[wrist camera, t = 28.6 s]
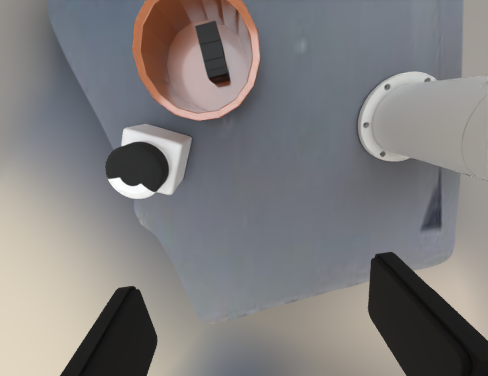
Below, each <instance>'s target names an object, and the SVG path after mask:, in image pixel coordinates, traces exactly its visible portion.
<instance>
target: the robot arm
mask: <svg viewBox="0 0 488 376" xmlns="http://www.w3.org/2000/svg"><path fill="white" fill-rule="evenodd" d="M384 87H385V89H384ZM363 124H364V126H363ZM358 135H359V138H360V141H361V143H362V145H363V147H364V148H365V149H366V150H367V151H368V152H369V153H370V154H371V155H373V156H374V157H376V158H379V159H381V160H385V161H393V162H396V161H403V160H406V159H410V158H414V159H417V160H420V161H423V162H427V163H430V164H433V165H436V166H440V167H443V168H446V169H449V170H453V171H456V172H459V173H462V174H466V175H469V176H472V177H476V178H479V179H482V180H486V181H488V75H481V76H473V77H465V78H456V79H447V80H439V81H437V80H436V79H435V78H434V77H432V76H430V75H428V74H426V73H421V72H406V73H400V74H397V75H394V76H392V77H390V78H388V79H386V80H384V81H383V82H382V83H380V84H379V85H378V86H377V87H375V89H374V90H373V91H372V92H371V93H370V94H369V96H368V97H367V99H366V100H365V102H364V104H363V106H362V108H361V110H360V114H359V118H358ZM368 311H369V315H370V318H371V320H372V321H373V323H374V324H375V326H376V328H377V329H378V331H379V332H380V334H381V336H382V337H383V338H384V340H385V342H386V344H387V345H388V347H389V348H390V350H391V352H392V353H393V355H394V356H395V358H396V360H397V361H398V363H399V364H400V366H401V368H402V369H403V371H404V372H405V374H406V376H488V341H487V340H486V339H485V338H484V337H483V336H482V335H481V334H480V333H479V332H478V331H477V330H476V329H475V328H474V327H473V326H472V325H470V324H469V323H468V322H467V321H466V320H465V319H464V318H463V317H462V316H461V315H460V314H459V313H458V312H457V311H456V310H454V308H452V307H451V306H450V305H449V304H448V303H447V302H446V301H445V300H444V299H443V298H442V297H441V296H440V295H439V294H438V293H437V292H436V291H434V290H433V289H432V288H431V287H429V286H428V285H427V284H426V283H425V282H424V281H423V280H422V279H421V278H420V277H418V275H417V274H415V272H414V271H413V270H411V269H410V268H409V267H408V266H407V265H406V264H405V263H404V262H403V261H402V260H401V259H400V258H399V257H398V256H397V255H396V254H394V253H393V252H388V253H380V254H376V255H375V258H373V259H372V260H371V271H370V286H369V302H368ZM156 346H157V335H156V332H155V329H154V327H153V324H152V322H151V319H150V316H149V313H148V311H147V308H146V305H145V303H144V300H143V297H142V295H141V292H140V290H138V289H136V288H135V287H134V286H129V287H122V288H118V289H117V290H116V291H115V293H114V294H113V296H112V297H111V299H110V300H109V302H108V303H107V305H106V306H105V308H104V309H103V311H102V312H101V314H100V316H99V317H98V319H97V320H96V322H95V324H94V325H93V326H92V328H91V329H90V331H89V332H88V334H87V336H86V337H85V339H84V340H83V342H82V343H81V345H80V346H79V348H78V349H77V351H76V352H75V354H74V355H73V357H72V358H71V360H70V361H69V363H68V365H67V366H66V368H65V369H64V371H63V372H62V374H61V375H60V376H147V373H148V370H149V367H150V364H151V361H152V358H153V355H154V352H155V349H156Z"/></svg>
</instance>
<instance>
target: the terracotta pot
mask: <svg viewBox="0 0 488 376" xmlns="http://www.w3.org/2000/svg"><path fill="white" fill-rule="evenodd" d="M212 21H216V24H217V27H218V31H219V35H220V39H222V44H223V48H224V53H225V55H224V57H225V61H226V66H228V71H229V75H230V80H231V81H226V82H222V83H218V84H214V83H212V82H211V81H210V80H209V78H208V76H207V72H206V69H205V65H204V61H203V57H202V53H201V49H200V45H199V41H198V37H197V32H196V28H195V26H197V25H201V24H204V23H208V22H212ZM132 50H133V55H134V59H135V62H136V66H137V70H138V74H139V77H140V79H141V80H142V82H143V83H144V85H145V86H146V88H147V89H148V91H149V92H150V94H151V95H152V97H153V98H154V100H155V101H157V102H158V103H159V104H161V105H162V106H163V107H165V108H166V109H168V110H169V111H170V112H172V113H173V114H174V115H177V116H180V117H184V118H188V119H192V120H196V121H202V120H209V119H216V118H220V117H222V116H224V115H226V114H227V113H229V112H230V111H232V110H234V109H235V108H237V107H238V106H240V105H241V103H242V102H243V100H244V99H245V98H246V96H247V95H248V93H249V92H250V91H251V89H252V88H253V86H254V84H255V80H256V76H257V72H258V68H259V64H260V59H261V58H260V48H259V38H258V31H257V28H256V26H255V24H254V22H253V20H252V18H251V16H250V14H249V12H248V10H247V7H246V5H245V4H244V3H243V2H242V1H241V0H146V1H145V3H144V5H143V7H142V8H141V10H140V12H139V14H138V16H137V18H136V20H135V24H134V36H133V47H132Z"/></svg>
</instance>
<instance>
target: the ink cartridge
mask: <svg viewBox="0 0 488 376" xmlns="http://www.w3.org/2000/svg"><path fill="white" fill-rule="evenodd" d="M195 28H196V32H197V37H198V41H199V45H200V49H201V53H202V57H203V61H204V65H205V69H206V72H207V76H208V78H209V80H210V81H211V82H212V83H214V84H218V83H222V82H226V81H231V80H230V75H229V71H228V66H226V61H225V57H224V55H225V53H224V48H223V44H222V39H220V35H219V31H218V27H217V24H216V21H212V22H208V23H204V24H201V25H197V26H195Z"/></svg>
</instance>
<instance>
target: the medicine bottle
mask: <svg viewBox="0 0 488 376" xmlns="http://www.w3.org/2000/svg"><path fill="white" fill-rule="evenodd" d="M191 141H192V138H191V137H190V136H187V135H183V134H180V133H176V132H173V131H170V130H166V129H163V128H159V127H156V126H152V125H149V124H142V125H137V126H133V127H128V128H125V129H124V130H123V136H122V145H121V147H119V148H117V149H115V150H114V151H113V152H112V153H111V154H110V155H109V157H108V159H107V161H106V175H107V178H108V180H109V182H110V183H111V185H112V186H113V187H114V189H116V190H117V191H118V192H119V193H121V194H122V195H124V196H127V197H130V198H134V199H143V198H147V197H150V196H151V195H153V194H154V193H156V192H159V193H163V194H167V195H172V194H173V192H174V191H175V190H176V188H177V187H178V185H179V184H180V183H181V181H182V180H183V178H184V173H185V169H186V164H187V160H188V155H189V151H190V146H191Z"/></svg>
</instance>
